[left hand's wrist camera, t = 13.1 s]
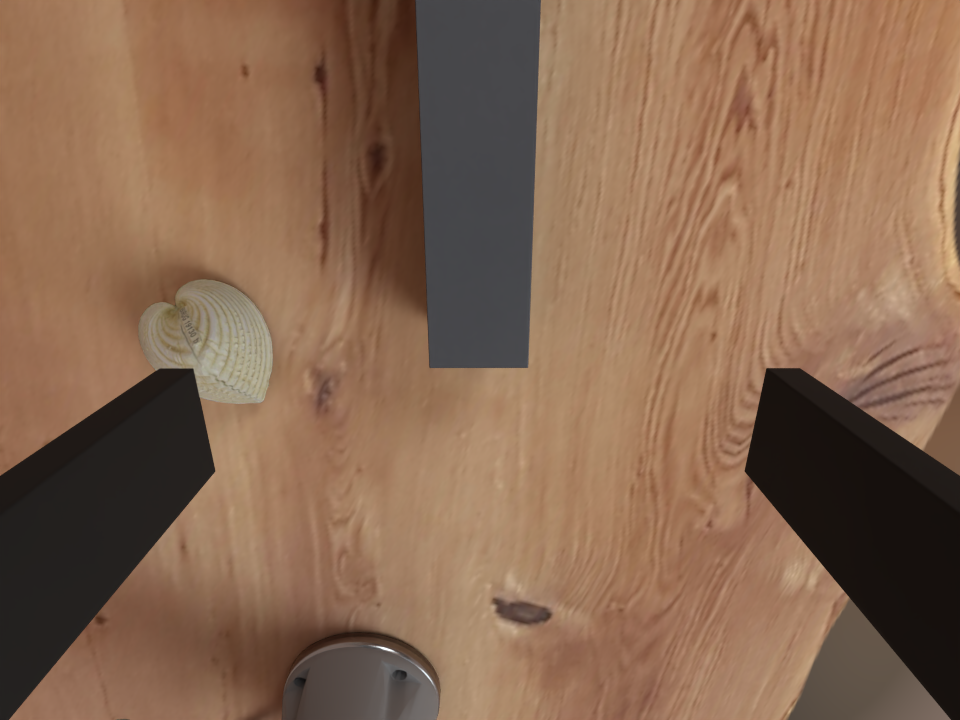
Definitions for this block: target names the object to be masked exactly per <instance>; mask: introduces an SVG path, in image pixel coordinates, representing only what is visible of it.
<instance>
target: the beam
mask: <svg viewBox="0 0 960 720" xmlns="http://www.w3.org/2000/svg"><path fill="white" fill-rule="evenodd" d="M415 7H416V33H417V59H418V85H419V111H420V136H421V162H422V188H423V214H424V240H425V265H426V291H427V317H428V343H429V367H430V368H528V356H529V327H530V298H531V269H532V240H533V211H534V182H535V153H536V124H537V94H538V65H539V36H540V7H541V0H415Z"/></svg>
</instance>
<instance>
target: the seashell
mask: <svg viewBox="0 0 960 720" xmlns="http://www.w3.org/2000/svg"><path fill="white" fill-rule="evenodd" d="M138 336H139V341H140V344H141V347H142V350H143V352H144V354H145V356H146V358H147V360H148V361H149V363H150V364H151V365H152V366H153V368H154V369H155V370H156V371H157V370H158V369H160V368H193V369H194V373H195V378H196V383H197V387H198V392H199V397H200V398H203V399H207V400H211V401H216V402H223V403H234V404H245V403H261V402H262V401H264V398H265V395H266V391H267V388H268V386H269V379H270V375H271V372H272V364H273V353H272V341H271V336H270V333H269V330H268V327H267V325H266V323H265V320H264V318H263V316H262V314H261V313H260V311H259V310H258V308H257V307H256V306H255V305H254V303H253V302H252V301H251V300H250V299H249V298H248V297H247V296H246V295H244V294H243V293H242V292H240V291H239V290H237V289H236V288H234V287H232V286H230V285H228V284H225V283H223V282H219V281H215V280H207V279H201V280H195V281H191V282H188V283H187V284H185V285H183V286H182V287H181V288H179V290H178V291H177V293H176V295H175V306H174V305H172V304H169V303H166V302H159V303H154V304H153V305H151V306H149V307H148V308H147V309H146V310H145V311H144V313H143V314H142V316H141V318H140V321H139V326H138Z"/></svg>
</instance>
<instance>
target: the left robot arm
mask: <svg viewBox="0 0 960 720" xmlns="http://www.w3.org/2000/svg"><path fill="white" fill-rule="evenodd" d="M214 472H215V467H214V462H213V458H212V453H211V448H210V444H209V439H208V434H207V430H206V425H205V420H204V415H203V411H202V406H201V401H200V397H199V392H198V387H197V383H196V378H195V373H194V369H193V368H160V369H158V370H157V371H155V372H154V373H152V374H151V375H149V376H148V377H146V378H145V379H143V380H142V381H140V382H139V383H138V384H136V385H135V386H133V387H132V388H130V389H129V390H127V391H126V392H124V393H123V394H121V395H120V396H118V397H117V398H115V399H114V400H112V401H111V402H109V403H108V404H106V405H105V406H103V407H102V408H100V409H99V410H97V411H96V412H94V413H93V414H91V415H90V416H88V417H87V418H86V419H84V420H83V421H81V422H80V423H78V424H77V425H75V426H74V427H72V428H71V429H69V430H68V431H66V432H65V433H63V434H62V435H60V436H59V437H57V438H56V439H54V440H53V441H51V442H50V443H48V444H47V445H45V446H44V447H42V448H41V449H39V450H38V451H37V452H35V453H34V454H32V455H31V456H29V457H28V458H26V459H25V460H23V461H22V462H20V463H19V464H17V465H16V466H14V467H13V468H11V469H10V470H8V471H7V472H5V473H4V474H2V475H1V476H0V720H9V719H10V718H11V717H12V715H13V714H14V713H15V712H16V711H17V709H18V708H19V707H20V706H21V704H22V703H23V702H24V701H25V700H26V698H27V697H28V696H29V695H30V694H31V692H32V691H33V690H34V689H35V688H36V686H37V685H38V684H39V683H40V682H41V680H42V679H43V678H44V677H45V676H46V674H47V673H48V672H49V671H50V670H51V668H52V667H53V666H54V665H55V664H56V662H57V661H58V660H59V659H60V658H61V656H62V655H63V654H64V653H65V652H66V650H67V649H68V648H69V647H70V646H71V644H72V643H73V642H74V641H75V640H76V638H77V637H78V636H79V635H80V634H81V632H82V631H83V630H84V629H85V627H86V626H87V625H88V624H89V623H90V621H91V620H92V619H93V618H94V617H95V615H96V614H97V613H98V612H99V611H100V609H101V608H102V607H103V606H104V605H105V603H106V602H107V601H108V600H109V599H110V597H111V596H112V595H113V594H114V593H115V591H116V590H117V589H118V588H119V587H120V585H121V584H122V583H123V582H124V581H125V579H126V578H127V577H128V576H129V575H130V573H131V572H132V571H133V570H134V569H135V567H136V566H137V565H138V564H139V563H140V561H141V560H142V559H143V558H144V557H145V555H146V554H147V553H148V552H149V550H150V549H151V548H152V547H153V546H154V544H155V543H156V542H157V541H158V540H159V538H160V537H161V536H162V535H163V534H164V532H165V531H166V530H167V529H168V528H169V526H170V525H171V524H172V523H173V522H174V520H175V519H176V518H177V517H178V516H179V514H180V513H181V512H182V511H183V510H184V508H185V507H186V506H187V505H188V504H189V502H190V501H191V500H192V499H193V498H194V496H195V495H196V494H197V493H198V492H199V490H200V489H201V488H202V487H203V486H204V484H205V483H206V482H207V481H208V480H209V478H210V477H211V476H212V475H213V474H214ZM745 472H746V474H747V475H748V476H749V477H750V478H751V480H752V481H753V482H754V483H755V484H756V486H757V487H758V488H759V489H760V490H761V492H762V493H763V494H764V495H765V496H766V498H767V499H768V500H769V501H770V502H771V504H772V505H773V506H774V507H775V508H776V510H777V511H778V512H779V513H780V514H781V516H782V517H783V518H784V519H785V520H786V522H787V523H788V524H789V525H790V526H791V528H792V529H793V530H794V531H795V532H796V534H797V535H798V536H799V537H800V538H801V540H802V541H803V542H804V543H805V544H806V546H807V547H808V548H809V549H810V550H811V552H812V553H813V554H814V555H815V557H816V558H817V559H818V560H819V561H820V563H821V564H822V565H823V566H824V567H825V569H826V570H827V571H828V572H829V573H830V575H831V576H832V577H833V578H834V579H835V581H836V582H837V583H838V584H839V585H840V587H841V588H842V589H843V590H844V591H845V593H846V594H847V595H848V596H849V597H850V599H851V600H852V601H853V602H854V603H855V605H856V606H857V607H858V608H859V609H860V611H861V612H862V613H863V614H864V615H865V617H866V618H867V619H868V620H869V621H870V623H871V624H872V625H873V626H874V627H875V629H876V630H877V631H878V632H879V633H880V635H881V636H882V637H883V638H884V639H885V641H886V642H887V643H888V644H889V646H890V647H891V648H892V649H893V650H894V652H895V653H896V654H897V655H898V656H899V657H900V659H901V660H902V661H903V662H904V664H905V665H906V666H907V667H908V668H909V670H910V671H911V672H912V673H913V674H914V676H915V677H916V678H917V679H918V680H919V682H920V683H921V684H922V685H923V686H924V688H925V689H926V690H927V691H928V692H929V694H930V695H931V696H932V697H933V698H934V700H935V701H936V702H937V703H938V704H939V706H940V707H941V708H942V709H943V710H944V712H945V713H946V714H947V715H948V717H949V718H950V719H951V720H960V476H959V475H958V474H956V473H955V472H953V471H952V470H950V469H949V468H947V467H946V466H944V465H943V464H941V463H940V462H938V461H937V460H935V459H934V458H932V457H931V456H929V455H928V454H926V453H925V452H923V451H922V450H921V449H919V448H918V447H916V446H915V445H913V444H912V443H910V442H909V441H907V440H906V439H904V438H903V437H901V436H900V435H898V434H897V433H895V432H894V431H892V430H891V429H889V428H888V427H886V426H885V425H883V424H882V423H880V422H879V421H877V420H876V419H874V418H873V417H872V416H870V415H869V414H867V413H866V412H864V411H863V410H861V409H860V408H858V407H857V406H855V405H854V404H852V403H851V402H849V401H848V400H846V399H845V398H843V397H842V396H840V395H839V394H837V393H836V392H834V391H833V390H831V389H830V388H828V387H827V386H825V385H824V384H822V383H821V382H820V381H818V380H817V379H815V378H814V377H812V376H811V375H809V374H808V373H806V372H805V371H803V370H802V369H800V368H767V369H766V373H765V378H764V383H763V387H762V392H761V397H760V401H759V406H758V411H757V415H756V420H755V425H754V430H753V434H752V439H751V444H750V448H749V453H748V458H747V462H746V467H745ZM439 704H440V683H439V679H438V676H437V673H436V672H435V670H434V668H433V666H432V665H431V664H430V662H429V661H428V660H427V659H426V658H425V657H424V656H423V655H422V654H421V653H419V652H418V651H417V650H415V649H414V648H412V647H411V646H409V645H407V644H405V643H403V642H401V641H398V640H396V639H393V638H390V637H386V636H383V635H377V634H371V633H346V634H340V635H335V636H331V637H328V638H325V639H322V640H320V641H318V642H316V643H314V644H312V645H311V646H309V647H308V648H307V649H305V650H304V651H303V652H302V653H301V654H300V655H299V656H298V657H297V659H296V660H295V662H294V663H293V665H292V667H291V670H290V672H289V675H288V678H287V681H286V684H285V687H284V692H283V700H282V720H436V719H437V716H438V712H439ZM117 720H128V719H117Z"/></svg>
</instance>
